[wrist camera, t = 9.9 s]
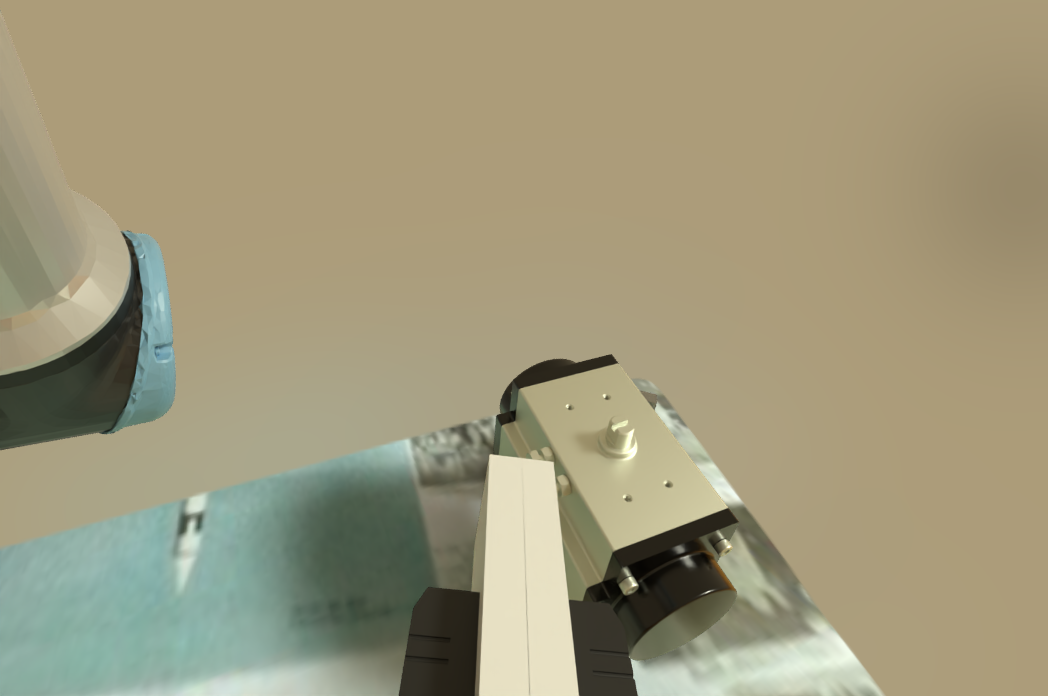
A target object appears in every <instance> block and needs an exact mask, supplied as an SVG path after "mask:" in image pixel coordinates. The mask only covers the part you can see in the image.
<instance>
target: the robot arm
mask: <svg viewBox="0 0 1048 696" xmlns="http://www.w3.org/2000/svg"><path fill="white" fill-rule="evenodd" d="M172 333H173V327H172V317H171V308H170V299H169V292H168V285H167V278H166V273H165V267H164V261H163V257H162V253H161V249H160V247H159V245H158V243H157V241H156V240H154V239H153V238H152V237H150V236H149V235H146V234H135V233H132V232H130V231H120V230H119V228H118V226H117V224H116V223H115V222H114V221H113V220H112V218H111V217H110V216H109V215H108V214H107V213H106V212H105V211H104V210H103V209H101V208H100V207H99V206H98V205H96V204H95V203H93V202H92V201H91V200H89V199H88V198H86V197H85V196H83V195H81V194H79V193H77V192H75V191H74V190H72V189H69V186H68V184H67V181H66V179H65V176H64V173H63V171H62V168H61V166H60V163H59V161H58V158H57V156H56V153H55V150H54V148H53V145H52V143H51V140H50V137H49V135H48V132H47V130H46V127H45V124H44V122H43V120H42V117H41V114H40V111H39V109H38V106H37V104H36V101H35V99H34V96H33V93H32V91H31V88H30V86H29V83H28V81H27V78H26V75H25V73H24V70H23V67H22V65H21V62H20V60H19V57H18V55H17V52H16V49H15V47H14V44H13V42H12V39H11V36H10V34H9V31H8V29H7V26H6V24H5V21H4V19H3V16H2V13H1V11H0V450H4V449H9V448H15V447H20V446H26V445H32V444H37V443H42V442H49V441H54V440H60V439H65V438H71V437H77V436H82V435H88V434H93V433H101V434H111V433H114V432H116V431H118V430H120V429H122V428H123V427H127V426H132V425H136V424H141V423H146V422H150V421H153V420H156V419H158V418H160V417H161V416H163V415H164V414H165V413H167V411H168V410H169V409H170V407H171V406H172V403H173V401H174V397H175V387H176V383H175V381H176V374H175V357H174V350H173V348H172V344H173V337H172ZM399 696H638V695H637V690H636V685H635V680H634V679H633V669H632V664H631V659H630V658H629V649H628V644H627V639H626V634H625V629H624V626H623V625H622V623H621V621H620V620H619V618H618V617H617V615H616V613H615V612H614V610H613V609H612V607H611V606H610V604H608V603H598V602H588V601H578V600H568V591H567V582H566V573H565V563H564V554H563V545H562V536H561V527H560V517H559V508H558V499H557V490H556V481H555V471H554V462H550V461H541V460H533V459H525V458H517V457H508V456H500V455H492V454H490V455H489V461H488V467H487V473H486V478H485V484H484V490H483V496H482V502H481V508H480V514H479V520H478V526H477V532H476V538H475V543H474V559H473V574H472V589H471V591H462V590H452V589H442V588H432V587H428V588H427V589H426V591H425V592H424V593H423V595H422V596H421V598H420V599H419V601H418V602H417V604H416V605H415V606H414V608H413V613H412V619H411V625H410V631H409V638H408V643H407V649H406V655H405V661H404V667H403V673H402V679H401V685H400V691H399Z"/></svg>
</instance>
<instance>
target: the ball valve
mask: <svg viewBox="0 0 1048 696" xmlns="http://www.w3.org/2000/svg"><path fill="white" fill-rule="evenodd" d="M500 413H501V414H499V415H497V416H496V425H495V438H494V450H493V455H500V456H508V457H517V458H525V459H533V460H541V461H550V462H554V471H555V481H556V490H557V499H558V508H559V517H560V527H561V536H562V545H563V554H564V563H565V573H566V582H567V591H568V600H578V601H588V602H598V603H608V604H610V606H611V607H612V609H613V610H614V612H615V613H616V615H617V617H618V618H619V620H620V621H621V623H622V625H623V626H624V629H625V634H626V639H627V644H628V649H629V657H630V658H631V659H633V660H637V661H642V660H648V659H652V658H655V657H658V656H661V655H663V654H666V653H668V652H670V651H672V650H675V649H677V648H679V647H680V646H682V645H684V644H686V643H688V642H689V641H691V640H693V639H694V638H696V637H697V636H699V635H700V634H702V633H703V632H705V631H706V630H707V629H709V628H710V627H711V626H713V625H714V624H715V623H716V622H717V621H718V620H720V619H721V618H722V617H723V616H724V615H725V614H726V613H727V612H728V611H729V609H730V608H731V607H732V606H733V604H734V602H735V600H736V597H737V591H736V589H735V588H734V586H733V585H732V583H731V582H730V581H729V579H728V578H727V576H726V575H725V573H724V572H723V571H722V569H721V568H720V566H719V565H718V563H717V562H718V560H719V558H720V556H725V555H727V554H728V553H729V552H731V550H732V549H733V547H732V545H731V544H730V543H729V541H730V539H731V537H732V535H733V533H734V532H735V530H736V528H737V526H738V525H739V521H738V520H737V519H736V517H735V516H734V515H733V513H732V512H731V511H730V509H729V508H728V507H727V505H726V504H725V503H724V501H723V500H722V499H721V497H720V496H719V495H718V494H717V492H716V491H715V490H714V488H713V487H712V486H711V484H710V483H709V482H708V480H707V479H706V478H705V476H704V475H703V474H702V473H701V471H700V470H699V469H698V467H697V466H696V465H695V463H694V462H693V461H692V459H691V458H690V457H689V455H688V454H687V453H686V451H685V450H684V449H683V448H682V446H681V445H680V444H679V442H678V441H677V440H676V438H675V437H674V436H673V434H672V433H671V432H670V430H669V429H668V428H667V426H666V425H665V424H664V423H663V421H662V420H661V419H660V417H659V416H658V415H657V413H656V412H655V411H654V409H653V408H652V407H651V405H650V404H649V403H648V401H647V400H646V399H645V398H644V396H643V395H642V394H641V392H640V391H639V390H638V388H637V387H636V386H635V384H634V383H633V382H632V380H631V379H630V378H629V377H628V375H627V374H626V373H625V371H624V370H623V369H622V368H621V366H620V365H619V363H618V362H617V361H616V359H615V358H614V357H613V355H612V354H611V355H606V356H602V357H599V358H594V359H591V360H586V361H582V362H578V363H575V362H573V361H571V360H567V359H552V360H547V361H544V362H541V363H538V364H536V365H534V366H532V367H530V368H528V369H527V370H525V371H523V372H522V373H521V374H519V375H518V376H517V377H516V378H515V379H514V380H513V381H512V382H511V383H510V384H509V386H508V387H507V388H506V390H505V392H504V394H503V396H502V399H501V402H500Z"/></svg>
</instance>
